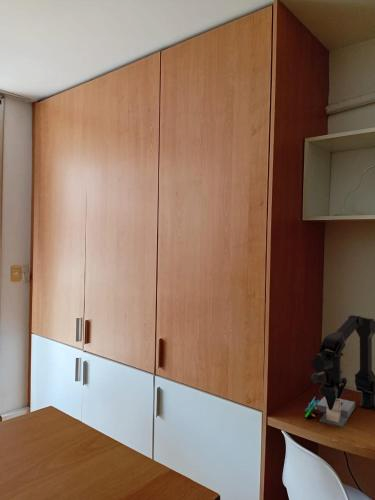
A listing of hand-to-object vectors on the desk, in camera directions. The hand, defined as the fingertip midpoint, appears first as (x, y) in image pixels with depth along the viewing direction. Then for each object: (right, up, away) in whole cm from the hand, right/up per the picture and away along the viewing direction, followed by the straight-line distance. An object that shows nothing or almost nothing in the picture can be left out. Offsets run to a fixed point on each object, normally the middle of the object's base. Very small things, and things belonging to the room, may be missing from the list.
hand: (333, 406), depth 156 cm
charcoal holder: (+6, -6, +12) cm, 14 cm away
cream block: (0, -5, 0) cm, 5 cm away
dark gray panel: (0, -6, 0) cm, 6 cm away
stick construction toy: (-6, -6, +6) cm, 10 cm away
